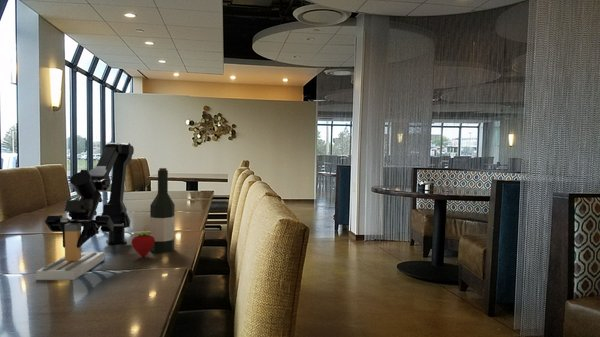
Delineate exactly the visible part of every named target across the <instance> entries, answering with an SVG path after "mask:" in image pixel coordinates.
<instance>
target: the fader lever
mask: <svg viewBox="0 0 600 337" xmlns="http://www.w3.org/2000/svg"><path fill="white" fill-rule="evenodd" d="M81 233H82V227H81V223H68V224H65V248H64V256H65V261H78V260H79V259H81V252H82V246H80V247H79V248H77V242H78V240H79V237H80V235H81Z"/></svg>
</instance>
